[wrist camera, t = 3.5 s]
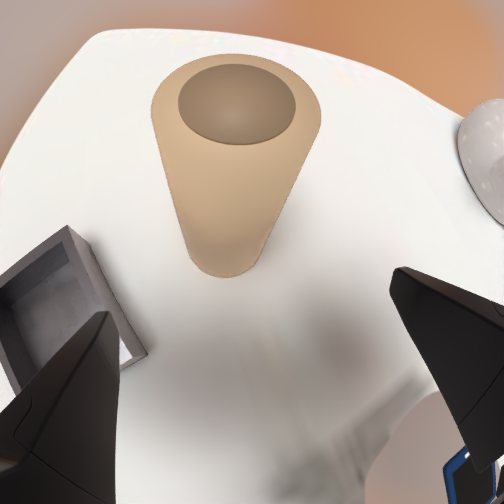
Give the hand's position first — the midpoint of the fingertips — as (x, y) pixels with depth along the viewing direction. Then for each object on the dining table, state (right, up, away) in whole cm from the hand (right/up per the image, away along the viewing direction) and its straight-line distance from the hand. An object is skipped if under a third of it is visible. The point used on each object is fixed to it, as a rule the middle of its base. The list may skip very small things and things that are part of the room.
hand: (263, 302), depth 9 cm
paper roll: (-2, +2, +13) cm, 14 cm away
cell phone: (+24, -24, +9) cm, 35 cm away
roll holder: (-14, -4, +10) cm, 18 cm away
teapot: (+32, +12, +21) cm, 40 cm away
